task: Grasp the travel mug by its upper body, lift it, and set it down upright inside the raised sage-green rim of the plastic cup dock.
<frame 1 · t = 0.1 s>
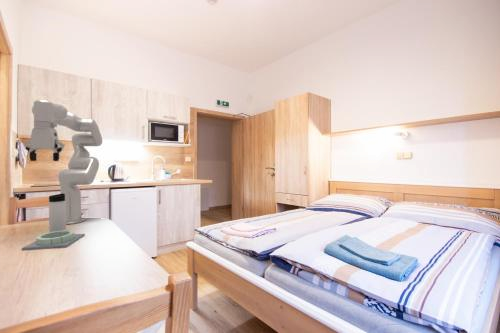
hand: (44, 160, 116), 37 cm above the table, tool pointing down, fingers open, 9 cm apart
cup dock: (56, 242, 106), on the table
travel mug: (58, 234, 117), on the table
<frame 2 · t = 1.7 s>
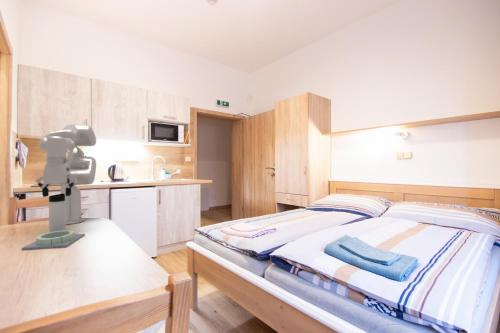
hand: (57, 196, 116), 19 cm above the table, tool pointing down, fingers open, 9 cm apart
nothing on the table moved.
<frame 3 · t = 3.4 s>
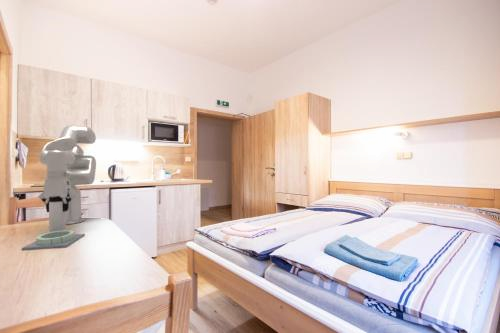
hand: (57, 211, 117), 12 cm above the table, tool pointing down, fingers closed on travel mug, 6 cm apart
travel mug: (58, 234, 117), on the table, touching gripper
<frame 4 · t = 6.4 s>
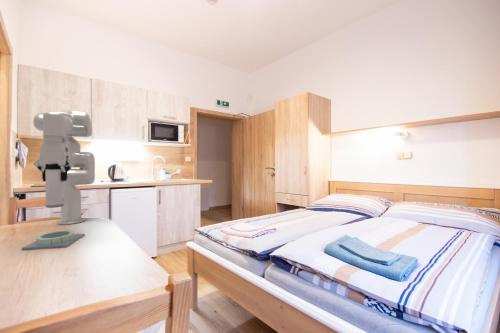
hand: (55, 180, 105), 28 cm above the table, tool pointing down, fingers closed on travel mug, 6 cm apart
travel mug: (55, 206, 105), point 16 cm above the table, touching gripper
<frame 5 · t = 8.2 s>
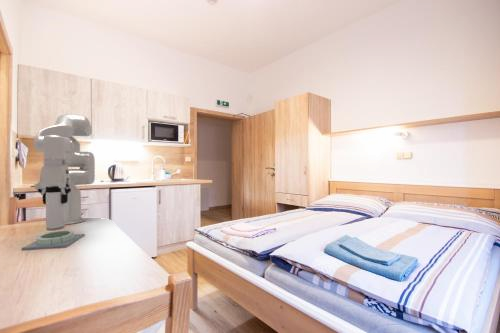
hand: (55, 203, 105), 18 cm above the table, tool pointing down, fingers closed on travel mug, 6 cm apart
travel mug: (55, 229, 105), point 6 cm above the table, touching gripper
when the fingers open (14 cm above the table, at t = 9.5 s): travel mug drops 1 cm, resting on cup dock.
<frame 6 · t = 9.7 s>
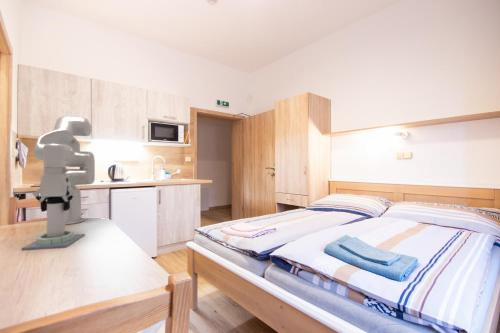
hand: (55, 210, 105), 14 cm above the table, tool pointing down, fingers open, 8 cm apart
travel mug: (56, 240, 106), point 1 cm above the table, touching cup dock
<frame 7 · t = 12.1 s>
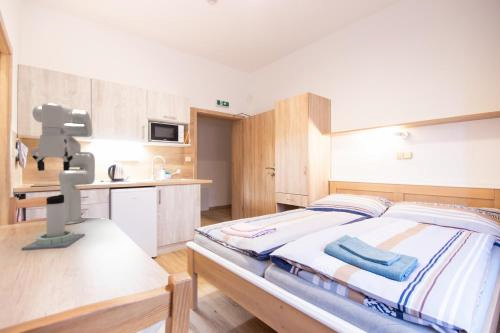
hand: (53, 170, 105), 32 cm above the table, tool pointing down, fingers open, 9 cm apart
nothing on the table moved.
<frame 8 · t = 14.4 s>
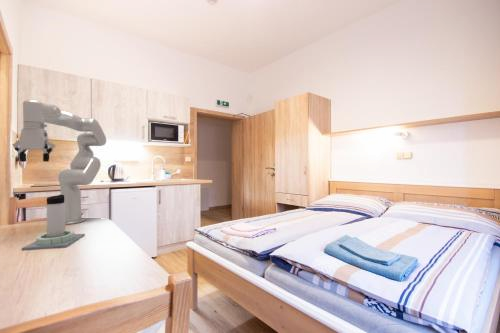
hand: (34, 161, 115), 36 cm above the table, tool pointing down, fingers open, 9 cm apart
nothing on the table moved.
at the end: travel mug 0.2 cm off-centre on the cup dock, point 0.8 cm above the cup dock's base; travel mug tilted 0°; the gripper is holding nothing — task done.
